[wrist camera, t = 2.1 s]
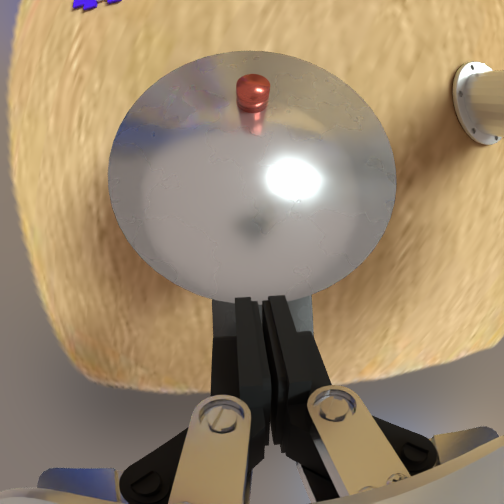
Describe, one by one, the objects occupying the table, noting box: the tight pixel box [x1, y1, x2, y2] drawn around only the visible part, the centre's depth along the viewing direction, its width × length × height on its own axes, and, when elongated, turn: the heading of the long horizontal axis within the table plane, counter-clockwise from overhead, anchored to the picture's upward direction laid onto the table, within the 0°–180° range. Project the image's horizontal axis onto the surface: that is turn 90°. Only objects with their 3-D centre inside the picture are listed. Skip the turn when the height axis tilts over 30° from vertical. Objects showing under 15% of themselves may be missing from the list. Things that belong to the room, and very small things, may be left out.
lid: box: [108, 51, 396, 337], centre depth 16 cm, size 18×20×3 cm
